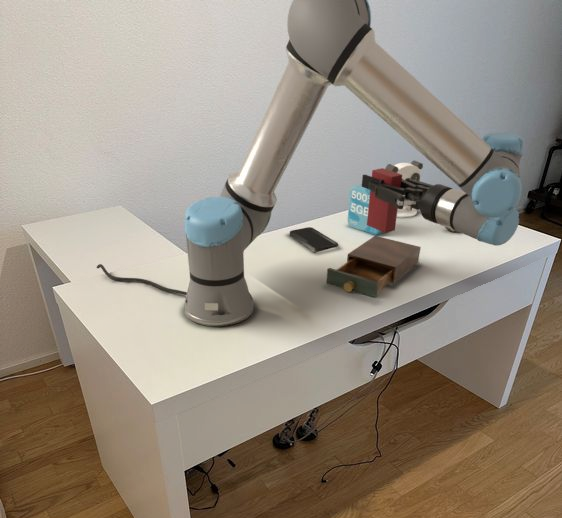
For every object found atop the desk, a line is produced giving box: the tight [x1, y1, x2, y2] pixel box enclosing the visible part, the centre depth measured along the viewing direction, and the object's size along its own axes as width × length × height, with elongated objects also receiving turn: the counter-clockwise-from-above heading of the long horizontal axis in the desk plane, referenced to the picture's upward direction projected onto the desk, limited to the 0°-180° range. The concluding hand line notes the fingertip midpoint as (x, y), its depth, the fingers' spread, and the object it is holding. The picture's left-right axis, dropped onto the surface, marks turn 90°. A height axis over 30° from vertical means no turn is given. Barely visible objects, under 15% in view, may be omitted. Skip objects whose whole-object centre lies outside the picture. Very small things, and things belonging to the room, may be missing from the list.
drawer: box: [326, 258, 394, 299], centre depth 130 cm, size 17×13×5 cm
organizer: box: [346, 235, 422, 283], centre depth 137 cm, size 15×13×5 cm
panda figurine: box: [384, 160, 424, 218], centre depth 171 cm, size 12×11×15 cm
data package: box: [347, 183, 383, 236], centre depth 159 cm, size 12×4×12 cm, turn 45°
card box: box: [367, 167, 402, 234], centre depth 126 cm, size 6×3×13 cm, turn 35°
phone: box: [289, 226, 339, 254], centre depth 153 cm, size 8×1×15 cm
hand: (369, 179), depth 128 cm, fingers closed on card box, 3 cm apart
